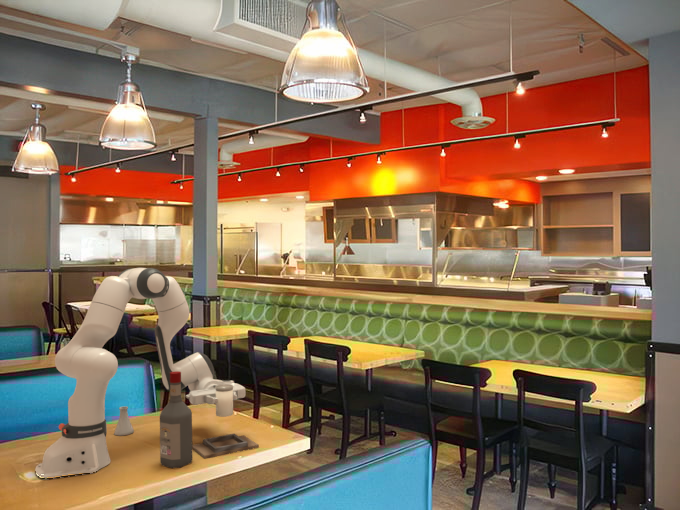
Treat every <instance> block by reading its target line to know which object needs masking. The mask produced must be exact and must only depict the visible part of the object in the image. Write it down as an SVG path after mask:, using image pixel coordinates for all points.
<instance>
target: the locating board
mask: <svg viewBox="0 0 680 510" xmlns="http://www.w3.org/2000/svg"><path fill="white" fill-rule="evenodd" d="M258 447H259V444H258V443H257V442H255V441H254V440H252V439H250V438H249V437H247V436H246V435H238V434H237V433H231V434H224V435H219V436H213V437H207V438H203V439H202V443H201V442H200V443H197V444H192V451H195V452H196V453H197V455H200V457H202V458H203V459H205V460H206V459H210V458H214V457H221V456H224V455H225V456H226V455H229V453H230V454H234V453H233V452H235V453H238V452H237V451H240V452H244V451H243V450H245V451H248V449H249V450H253V448H254V449H258Z"/></svg>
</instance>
